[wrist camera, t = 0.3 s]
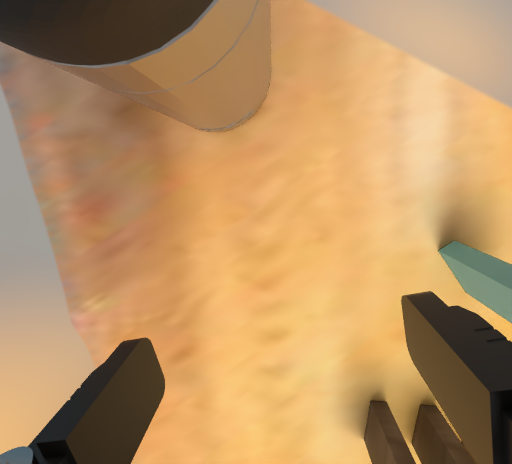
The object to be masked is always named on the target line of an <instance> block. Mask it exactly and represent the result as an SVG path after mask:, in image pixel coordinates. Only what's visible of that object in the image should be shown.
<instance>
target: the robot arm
mask: <svg viewBox="0 0 512 464" xmlns="http://www.w3.org/2000/svg"><path fill="white" fill-rule="evenodd" d="M0 41H1V42H3V43H5V44H7V45H10V46H12V47H14V48H16V49H19V50H21V51H23V52H25V53H27V54H29V55H32V56H34V57H36V58H38V59H41V60H43V61H45V62H47V63H50V64H52V65H54V66H56V67H59V68H61V69H63V70H65V71H68V72H70V73H72V74H74V75H77V76H79V77H81V78H83V79H86V80H88V81H90V82H93V83H95V84H97V85H100V86H102V87H104V88H106V89H109V90H111V91H113V92H115V93H118V94H120V95H122V96H124V97H127V98H129V99H131V100H133V101H136V102H138V103H140V104H142V105H145V106H147V107H149V108H151V109H153V110H156V111H158V112H160V113H162V114H165V115H167V116H169V117H171V118H174V119H176V120H178V121H180V122H183V123H185V124H187V125H190V126H192V127H194V128H196V129H199V130H203V131H208V132H222V131H227V130H232V129H234V128H236V127H238V126H240V125H242V124H244V123H245V122H246V121H247V120H249V119H250V118H251V117H252V116H253V115H254V114H255V113H256V112H257V110H258V109H259V108H260V106H261V105H262V103H263V101H264V99H265V97H266V94H267V91H268V88H269V85H270V76H271V0H0ZM401 303H402V311H403V319H404V327H405V335H406V342H407V347H408V350H409V353H410V356H411V359H412V361H413V363H414V365H415V366H416V368H417V370H418V371H419V373H420V374H421V376H422V378H423V379H424V381H425V382H426V384H427V385H428V387H429V389H430V390H431V392H432V393H433V395H434V397H435V398H436V400H437V401H438V403H439V404H440V406H441V408H442V409H443V411H444V412H445V414H446V416H447V417H448V419H449V420H450V422H451V423H452V425H453V427H454V428H455V430H456V431H457V433H458V435H459V436H460V438H461V439H462V441H463V443H464V444H465V446H466V447H467V449H468V450H469V452H470V454H471V455H472V457H473V458H474V460H475V462H476V463H477V464H512V342H511V341H508V340H507V338H506V337H505V336H504V335H502V334H501V333H500V332H499V331H498V330H496V329H495V330H494V328H493V326H491V325H490V324H489V323H488V322H487V321H485V320H484V319H483V318H482V317H480V316H479V315H478V314H476V313H474V312H471V311H469V310H467V309H464V308H462V307H460V306H450V307H448V306H447V305H446V304H445V303H444V302H443V301H442V300H441V299H439V298H438V297H437V296H436V295H435V294H434V293H433V292H431V291H428V292H422V293H416V294H410V295H404V296H402V300H401ZM164 390H165V379H164V375H163V372H162V370H161V367H160V364H159V362H158V359H157V356H156V353H155V351H154V348H153V345H152V343H151V341H150V340H149V339H148V338H140V339H133V340H127V341H123V342H122V343H121V344H120V345H119V346H118V347H117V348H116V349H115V351H114V352H113V353H112V354H111V355H110V356H109V358H108V359H107V360H106V361H105V362H104V363H103V364H102V365H100V366H99V367H98V368H97V369H95V370H94V371H93V372H92V373H91V374H90V375H89V376H88V378H87V379H86V380H85V381H84V382H83V383H82V385H81V388H78V389H77V390H76V391H75V393H74V394H73V395H72V396H71V399H70V400H68V401H67V402H66V403H65V404H64V405H63V406H62V408H61V409H60V410H59V411H58V412H57V413H56V415H55V416H54V417H53V418H52V419H51V420H50V421H49V423H48V424H47V425H46V426H45V427H44V428H43V430H42V431H41V432H40V433H39V435H37V436H36V438H35V439H34V440H33V441H32V443H30V445H29V446H28V447H24V446H23V447H18V448H14V449H11V450H9V451H7V452H5V453H3V454H1V455H0V464H131V462H132V460H133V457H134V455H135V453H136V451H137V449H138V447H139V445H140V443H141V441H142V439H143V437H144V435H145V433H146V431H147V429H148V427H149V425H150V423H151V420H152V418H153V416H154V414H155V412H156V410H157V408H158V406H159V404H160V402H161V400H162V398H163V395H164Z"/></svg>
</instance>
